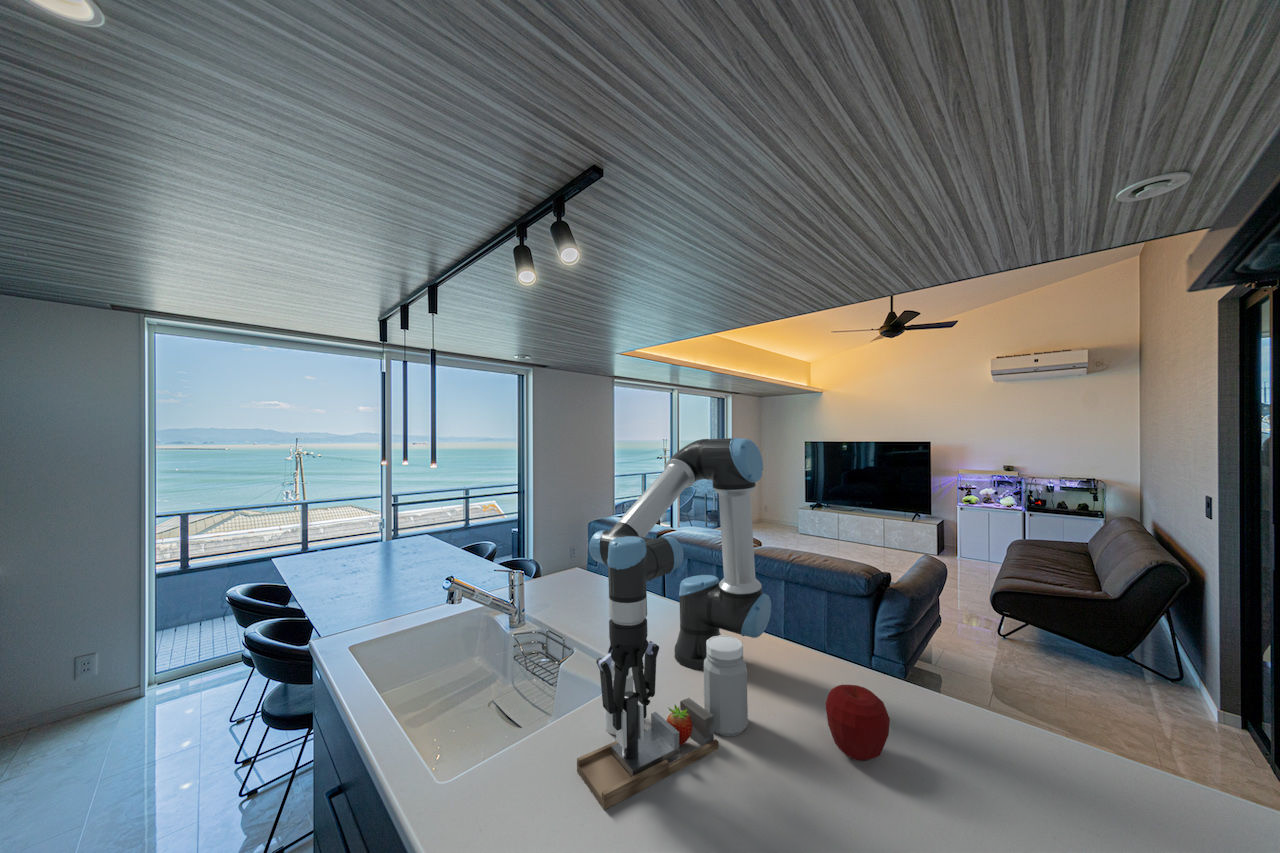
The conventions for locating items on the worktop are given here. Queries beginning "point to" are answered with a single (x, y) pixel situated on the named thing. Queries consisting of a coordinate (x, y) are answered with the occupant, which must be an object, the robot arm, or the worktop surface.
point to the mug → (628, 687)
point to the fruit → (681, 723)
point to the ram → (645, 740)
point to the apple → (857, 721)
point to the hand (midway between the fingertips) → (630, 739)
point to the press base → (618, 784)
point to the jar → (726, 685)
